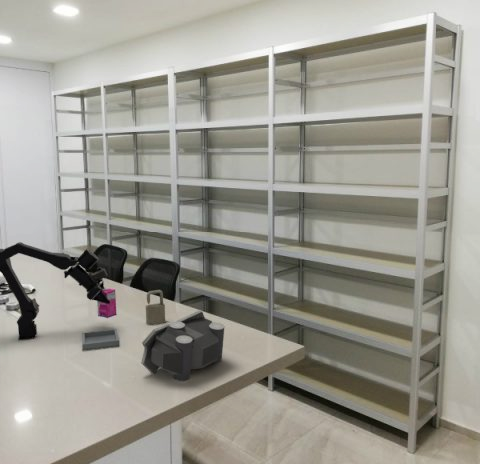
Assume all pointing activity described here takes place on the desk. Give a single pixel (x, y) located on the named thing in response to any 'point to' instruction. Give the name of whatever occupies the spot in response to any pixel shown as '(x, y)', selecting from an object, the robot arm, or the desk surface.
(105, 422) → the desk surface
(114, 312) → the supplement box
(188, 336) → the electronic device
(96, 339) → the tray
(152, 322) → the padlock
